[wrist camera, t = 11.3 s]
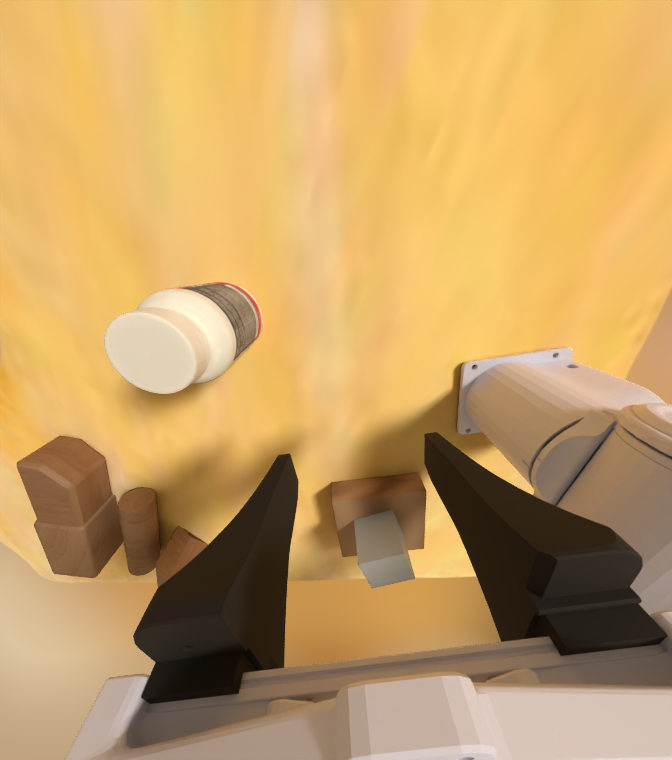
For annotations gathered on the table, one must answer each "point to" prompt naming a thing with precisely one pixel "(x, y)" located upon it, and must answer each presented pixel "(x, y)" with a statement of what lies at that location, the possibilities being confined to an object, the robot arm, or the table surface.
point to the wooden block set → (96, 515)
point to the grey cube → (382, 550)
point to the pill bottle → (183, 336)
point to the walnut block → (380, 507)
